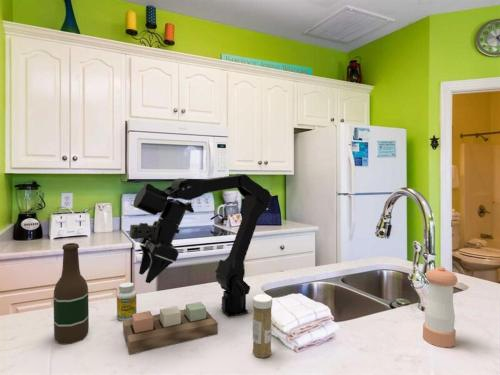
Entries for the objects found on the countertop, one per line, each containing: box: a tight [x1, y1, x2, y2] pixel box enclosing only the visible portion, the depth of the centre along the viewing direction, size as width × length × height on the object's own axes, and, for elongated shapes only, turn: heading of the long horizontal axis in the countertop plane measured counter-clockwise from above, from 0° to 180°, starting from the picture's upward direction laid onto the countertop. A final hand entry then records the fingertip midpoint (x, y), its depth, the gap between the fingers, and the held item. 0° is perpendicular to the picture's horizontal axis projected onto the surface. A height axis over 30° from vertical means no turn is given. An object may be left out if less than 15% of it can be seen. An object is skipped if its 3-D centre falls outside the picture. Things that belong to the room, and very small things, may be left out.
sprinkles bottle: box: [252, 294, 273, 358], centre depth 77 cm, size 5×5×14 cm
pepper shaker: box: [422, 266, 458, 348], centre depth 84 cm, size 7×7×19 cm
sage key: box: [185, 301, 207, 322], centre depth 89 cm, size 4×4×3 cm
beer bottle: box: [53, 242, 90, 345], centre depth 83 cm, size 8×8×24 cm
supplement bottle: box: [116, 282, 138, 322], centre depth 95 cm, size 5×5×10 cm
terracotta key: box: [132, 310, 153, 333], centre depth 83 cm, size 4×4×3 cm
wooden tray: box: [122, 308, 219, 356], centre depth 86 cm, size 22×12×3 cm, turn 118°
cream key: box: [159, 305, 181, 327], centre depth 86 cm, size 4×4×3 cm
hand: (143, 278), depth 84 cm, fingers open, 9 cm apart
